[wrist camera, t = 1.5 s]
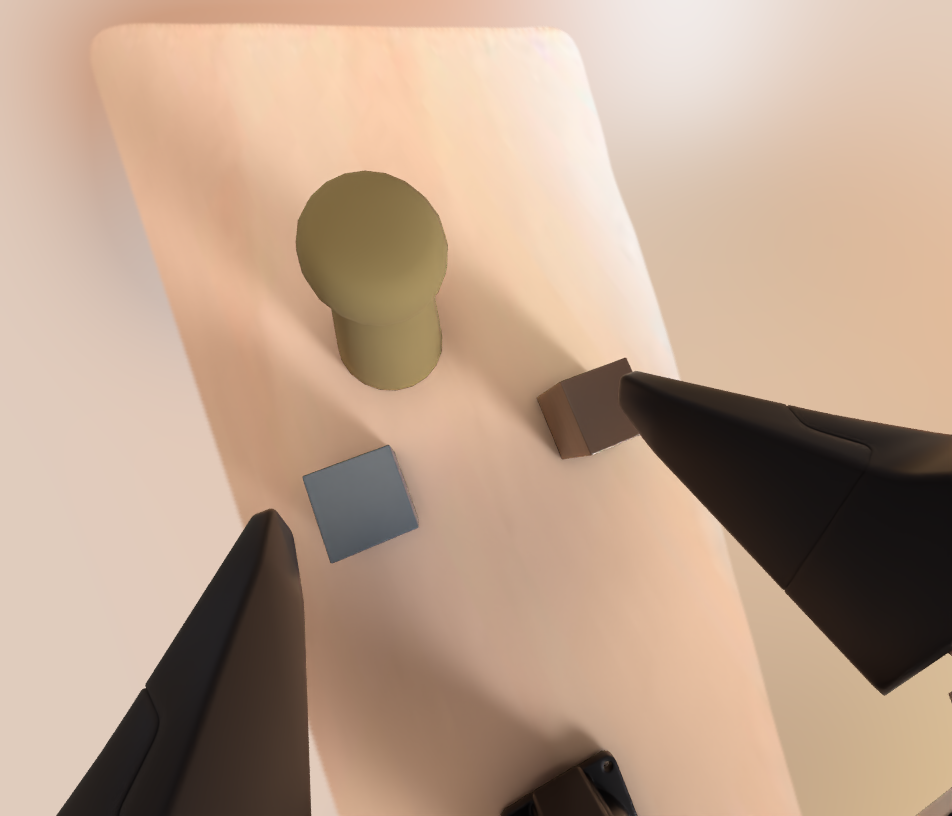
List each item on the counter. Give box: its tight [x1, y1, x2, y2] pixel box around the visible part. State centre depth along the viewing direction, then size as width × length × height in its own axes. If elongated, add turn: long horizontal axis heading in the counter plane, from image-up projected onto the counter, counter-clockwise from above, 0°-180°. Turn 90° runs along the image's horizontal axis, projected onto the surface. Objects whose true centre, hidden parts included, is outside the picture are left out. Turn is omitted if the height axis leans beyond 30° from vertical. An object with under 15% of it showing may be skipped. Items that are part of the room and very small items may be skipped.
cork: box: [296, 171, 448, 390], centre depth 18 cm, size 6×6×11 cm
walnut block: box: [537, 358, 640, 459], centre depth 22 cm, size 4×4×4 cm
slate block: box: [303, 445, 418, 563], centre depth 19 cm, size 4×4×4 cm
